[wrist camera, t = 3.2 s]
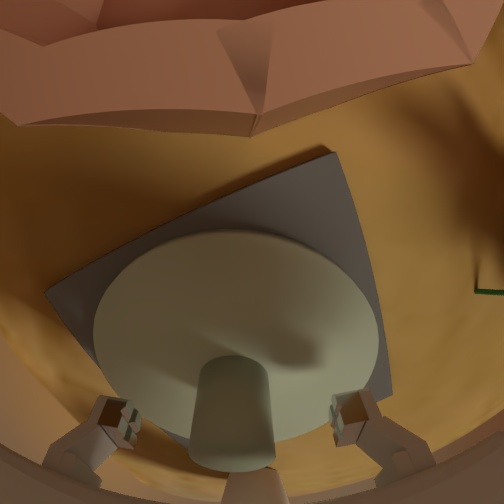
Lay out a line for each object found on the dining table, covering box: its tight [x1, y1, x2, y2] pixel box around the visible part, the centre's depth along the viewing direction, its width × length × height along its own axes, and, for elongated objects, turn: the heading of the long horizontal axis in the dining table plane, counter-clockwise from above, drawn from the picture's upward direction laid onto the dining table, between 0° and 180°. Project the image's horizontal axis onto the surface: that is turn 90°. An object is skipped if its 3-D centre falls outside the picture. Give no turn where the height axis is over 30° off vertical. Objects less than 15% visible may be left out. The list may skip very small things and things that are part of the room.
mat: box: [44, 152, 393, 450], centre depth 12 cm, size 14×14×1 cm
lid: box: [93, 229, 379, 472], centre depth 10 cm, size 13×13×5 cm
